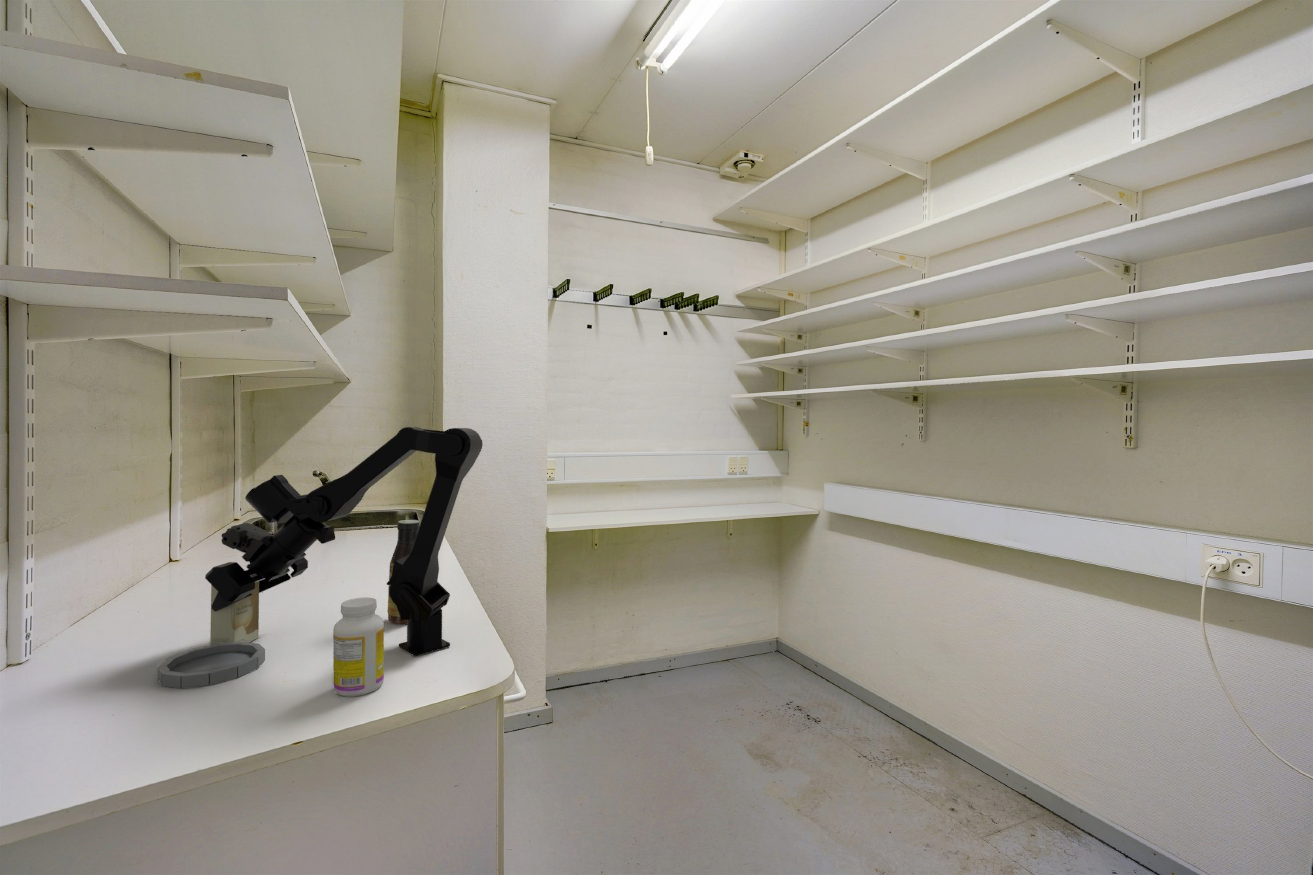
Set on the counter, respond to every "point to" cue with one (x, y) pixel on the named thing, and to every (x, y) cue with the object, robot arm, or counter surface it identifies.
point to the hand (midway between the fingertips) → (227, 603)
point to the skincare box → (235, 620)
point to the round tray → (211, 664)
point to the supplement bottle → (358, 648)
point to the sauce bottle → (403, 549)
